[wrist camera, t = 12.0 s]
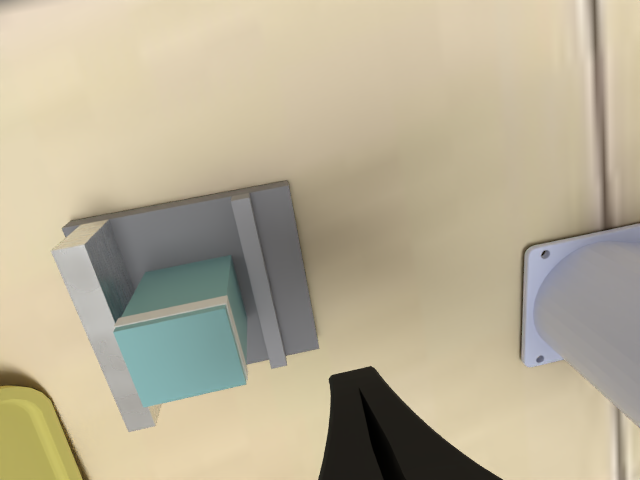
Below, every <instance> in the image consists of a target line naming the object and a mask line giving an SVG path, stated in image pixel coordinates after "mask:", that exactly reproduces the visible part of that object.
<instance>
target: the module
mask: <svg viewBox="0 0 640 480" xmlns="http://www.w3.org/2000/svg"><path fill="white" fill-rule="evenodd" d="M113 333H114V336H115V338H116V341H117V343H118V346H119V348H120V351H121V353H122V356H123V358H124V361H125V363H126V366H127V368H128V371H129V373H130V375H131V378H132V380H133V383H134V385H135V388H136V390H137V393H138V395H139V398H140V400H141V403H142V405H143V408H144V407H149V406H153V405H157V404H162V403H166V402H171V401H175V400H179V399H184V398H188V397H193V396H197V395H201V394H206V393H210V392H215V391H219V390H224V389H228V388H232V387H237V386H241V385H246V380H248V369H247V315H246V311H245V307H244V303H243V299H242V295H241V291H240V287H239V284H238V280H237V276H236V272H235V268H234V264H233V260H232V257H231V255H228V256H223V257H218V258H213V259H208V260H203V261H198V262H193V263H189V264H184V265H179V266H174V267H169V268H164V269H159V270H154V271H149V272H145V274H144V275H143V277H142V279H141V281H140V283H139V285H138V287H137V288H136V290H135V292H134V294H133V296H132V298H131V300H130V301H129V303H128V305H127V307H126V309H125V311H124V313H123V315H122V316H121V318H118V320H117V321H116V323H115V325H114V331H113Z"/></svg>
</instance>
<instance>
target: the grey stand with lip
mask: <svg viewBox="0 0 640 480" xmlns="http://www.w3.org/2000/svg"><path fill="white" fill-rule="evenodd" d="M108 219H109V222H110V224H111V227H112V230H113V233H114V235H115V238H116V241H117V244H118V246H119V249H120V252H121V255H122V257H123V260H124V263H125V266H126V268H127V271H128V274H129V277H130V280H131V282H132V285H133V288H134V291H135V290H136V288H137V287H138V285H139V283H140V281H141V279H142V277H143V275H144V274H145V272H149V271H154V270H159V269H164V268H169V267H174V266H179V265H184V264H189V263H193V262H198V261H203V260H208V259H213V258H218V257H223V256H228V255H231V257H232V260H233V264H234V268H235V272H236V276H237V280H238V284H239V287H240V291H241V295H242V299H243V303H244V307H245V311H246V315H247V364H251V363H256V362H260V361H265V360H270V365H271V369H273V368H277V367H282V366H286V365H287V361H286V356H287V355H292V354H297V353H301V352H306V351H310V350H315V349H319V345H318V339H317V334H316V329H315V323H314V318H313V313H312V307H311V302H310V297H309V291H308V286H307V280H306V275H305V270H304V264H303V259H302V254H301V248H300V243H299V238H298V232H297V227H296V221H295V216H294V211H293V205H292V200H291V195H290V189H289V185H288V182H287V181H281V182H276V183H271V184H265V185H260V186H255V187H249V188H244V189H239V190H233V191H228V192H223V193H217V194H212V195H207V196H201V197H196V198H191V199H185V200H180V201H175V202H169V203H164V204H159V205H153V206H148V207H143V208H137V209H132V210H127V211H121V212H116V213H111V214H105V215H100V216H95V217H89V218H84V219H79V220H73V221H70V222H69V223H68V224H66V225H65V226H64V227H63V228H62V230H63V232H64V235H65V237H67V236H68V235H70V234H71V233H72V232H73V231H74V230H75V229H76V228H78V227H79V226H80V225H82V224H87V223H92V222H98V221H103V220H108Z"/></svg>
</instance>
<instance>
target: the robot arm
mask: <svg viewBox="0 0 640 480" xmlns="http://www.w3.org/2000/svg"><path fill="white" fill-rule="evenodd" d="M545 250H546V251H545ZM543 251H545V254H544V255H542V256H541V254H542V252H543ZM538 356H539V357H538ZM537 357H538V358H537ZM521 360H522V362H523V363H524V364H525V366H527V367H534V366H538V365H543V364H547V363H551V362H555V361H560V360H566V361H567V362H568V363H569V364H570V365H571V366H572V367H573V368H574V369H575V370H576V371H578V372H579V373H580V374H581V375H582V376H583V377H584V378H585V379H586V380H587V381H589V382H590V383H591V384H592V385H593V386H594V387H595V388H596V389H597V390H598V391H600V392H601V393H602V394H603V395H604V396H605V397H606V398H607V399H608V400H609V401H610V402H612V403H613V404H614V405H615V406H616V407H617V408H618V409H619V410H620V411H621V412H623V413H624V414H625V415H626V416H627V417H628V418H629V419H630V420H631V421H632V422H634V423H635V424H636V425H637V426H638V427H639V428H640V223H639V224H634V225H629V226H625V227H620V228H615V229H610V230H605V231H601V232H596V233H591V234H586V235H582V236H577V237H572V238H567V239H563V240H558V241H553V242H548V243H544V244H539V245H534V246H531V247H529V248H528V249H527V250H526V252H525V256H524V288H523V321H522V354H521ZM329 383H330V390H331V406H330V418H329V428H328V435H327V441H326V447H325V452H324V458H323V462H322V467H321V471H320V475H319V479H318V480H503V479H501V478H499V477H498V476H496V475H495V474H493V473H491V472H490V471H488V470H486V469H485V468H483V467H482V466H480V465H479V464H477V463H476V462H474V461H473V460H472V459H470V458H469V457H467V456H466V455H464V454H463V453H462V452H460V451H459V450H458V449H456V448H455V447H454V446H452V445H451V444H450V443H449V442H447V441H446V440H445V439H444V438H442V437H441V436H440V435H439V434H438V433H436V432H435V431H434V430H433V429H432V428H431V427H430V426H428V425H427V424H426V423H425V422H424V421H423V420H422V419H421V418H420V417H419V416H417V415H416V414H415V413H414V412H413V411H412V410H411V409H410V408H409V407H408V406H407V405H406V404H405V403H404V402H403V401H402V400H401V399H400V398H399V397H398V395H397V394H396V393H395V392H394V391H393V390H392V389H391V388H390V387H389V385H388V384H387V383H386V382H385V381H384V380H383V378H382V377H381V376H380V375H379V373H378V372H377V371H376V369H375V368H373V367H372V366H370V367H365V368H361V369H357V370H352V371H348V372H343V373H339V374H335V375H332V376H331V377H330V378H329Z"/></svg>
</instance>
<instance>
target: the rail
mask: <svg viewBox="0 0 640 480" xmlns="http://www.w3.org/2000/svg"><path fill="white" fill-rule="evenodd" d="M51 252H52V255H53V257H54V259H55V262H56V264H57V266H58V269H59V271H60V273H61V276H62V278H63V280H64V283H65V285H66V287H67V290H68V292H69V294H70V297H71V299H72V301H73V304H74V306H75V308H76V311H77V313H78V315H79V318H80V320H81V322H82V325H83V327H84V329H85V332H86V334H87V336H88V339H89V341H90V343H91V346H92V348H93V350H94V353H95V355H96V357H97V359H98V362H99V364H100V366H101V369H102V371H103V373H104V376H105V378H106V380H107V383H108V385H109V387H110V390H111V392H112V394H113V397H114V399H115V401H116V404H117V406H118V408H119V411H120V413H121V415H122V418H123V420H124V422H125V425H126V427H127V429H128V432H131V431H136V430H140V429H144V428H149V427H153V426H156V423H157V419H158V415H159V412H160V408H161V404H157V405H153V406H149V407H144V408H143V405H142V403H141V400H140V398H139V395H138V393H137V390H136V388H135V385H134V383H133V380H132V378H131V375H130V373H129V371H128V368H127V366H126V363H125V361H124V358H123V356H122V353H121V351H120V348H119V346H118V343H117V341H116V338H115V336H114V333H113V331H114V325H115V323H116V321H117V320H118V318H121V316H122V315H123V313H124V311H125V309H126V307H127V305H128V303H129V301H130V300H131V298H132V296H133V294H134V292H135V291H134V288H133V285H132V282H131V280H130V277H129V274H128V271H127V268H126V266H125V263H124V260H123V257H122V255H121V252H120V249H119V246H118V244H117V241H116V238H115V235H114V233H113V230H112V227H111V224H110V222H109V219H108V220H103V221H98V222H92V223H87V224H82V225H80V226H79V227H78V228H76V229H75V230H74V231H73V232H72V233H71V234H70V235H68V236H67V237H66V238H65V239H64V240H63V241H62V242H60V243H59V244H58V245H57V246H56V247H55V248H54V249H53V250H51Z"/></svg>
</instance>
